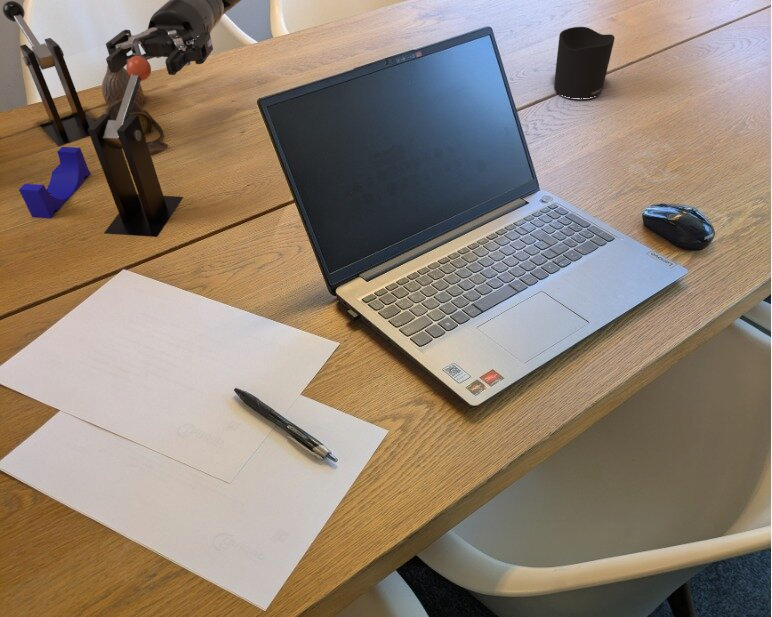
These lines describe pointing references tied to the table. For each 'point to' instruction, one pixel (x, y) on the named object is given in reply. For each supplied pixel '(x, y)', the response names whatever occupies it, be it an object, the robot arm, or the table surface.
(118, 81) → the vase
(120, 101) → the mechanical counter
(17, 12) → the back lever
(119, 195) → the front bracket
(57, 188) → the blue curved cradle
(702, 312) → the table surface
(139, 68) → the front lever
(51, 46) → the back bracket
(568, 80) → the pen holder
